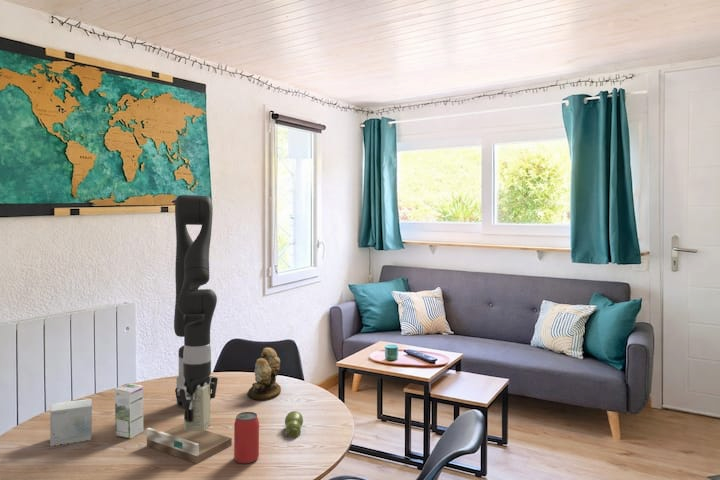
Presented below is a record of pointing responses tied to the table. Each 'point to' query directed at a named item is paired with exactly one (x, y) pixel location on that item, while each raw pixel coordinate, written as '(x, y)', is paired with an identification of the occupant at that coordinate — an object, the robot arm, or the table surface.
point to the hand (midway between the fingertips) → (197, 417)
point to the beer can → (246, 437)
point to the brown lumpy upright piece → (266, 376)
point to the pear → (293, 424)
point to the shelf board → (187, 443)
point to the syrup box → (129, 410)
